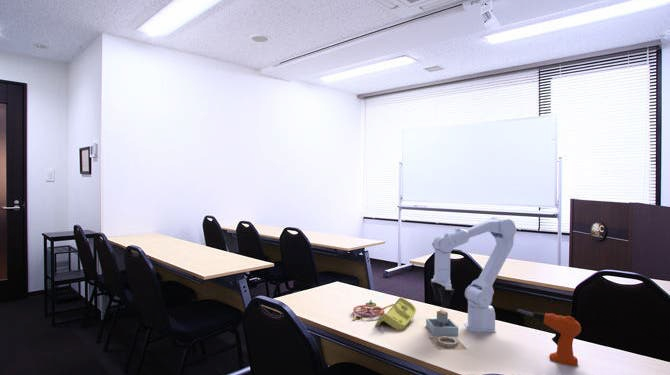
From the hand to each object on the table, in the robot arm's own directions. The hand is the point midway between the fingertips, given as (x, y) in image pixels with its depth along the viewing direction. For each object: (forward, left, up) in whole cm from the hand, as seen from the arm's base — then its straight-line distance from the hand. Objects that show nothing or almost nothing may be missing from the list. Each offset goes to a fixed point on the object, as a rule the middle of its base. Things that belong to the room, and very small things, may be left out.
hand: (441, 303), depth 142 cm
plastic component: (+15, -8, -10) cm, 20 cm away
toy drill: (-27, +23, -10) cm, 37 cm away
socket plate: (+2, +13, -10) cm, 17 cm away
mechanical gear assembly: (+22, -20, -11) cm, 32 cm away
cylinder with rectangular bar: (0, +1, -9) cm, 9 cm away
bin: (0, +1, -10) cm, 10 cm away
